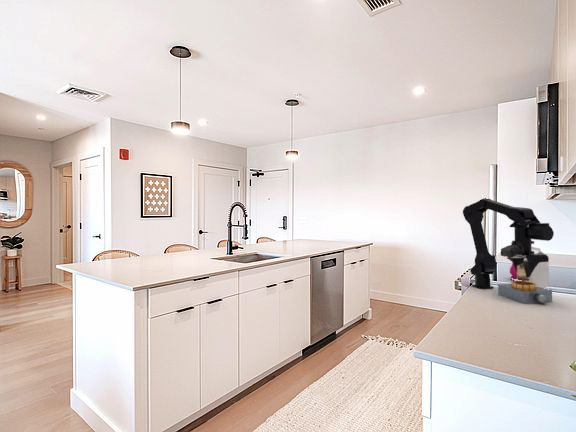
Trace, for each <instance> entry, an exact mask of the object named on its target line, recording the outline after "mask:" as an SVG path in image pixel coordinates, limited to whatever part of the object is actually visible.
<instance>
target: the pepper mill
mask: <svg viewBox="0 0 576 432" xmlns="http://www.w3.org/2000/svg"><path fill="white" fill-rule="evenodd" d="M509 274H510V275H511V276H510V279H511V278H513V279H517V272H516V270H515V267H514V265H513V263H512V264H511V266H510V267H509Z"/></svg>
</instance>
